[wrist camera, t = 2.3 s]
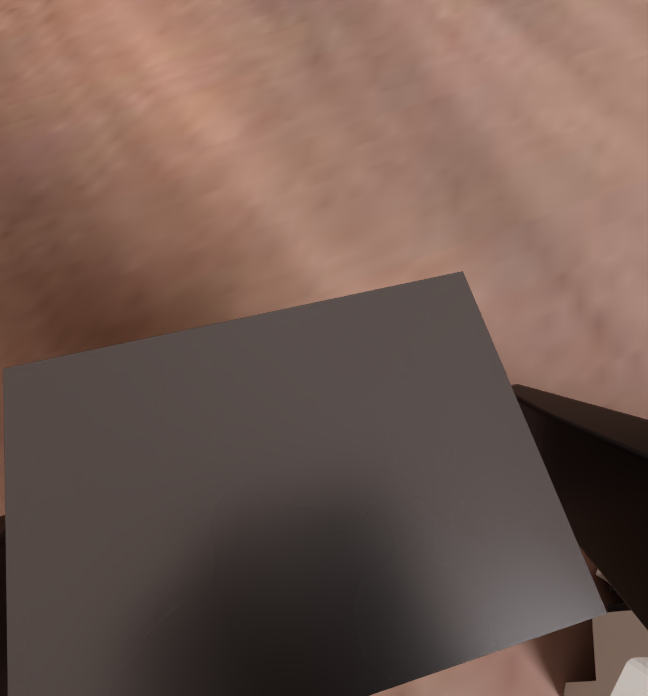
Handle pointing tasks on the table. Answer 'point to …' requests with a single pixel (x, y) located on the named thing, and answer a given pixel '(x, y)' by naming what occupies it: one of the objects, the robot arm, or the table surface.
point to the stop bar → (280, 506)
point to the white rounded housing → (616, 655)
